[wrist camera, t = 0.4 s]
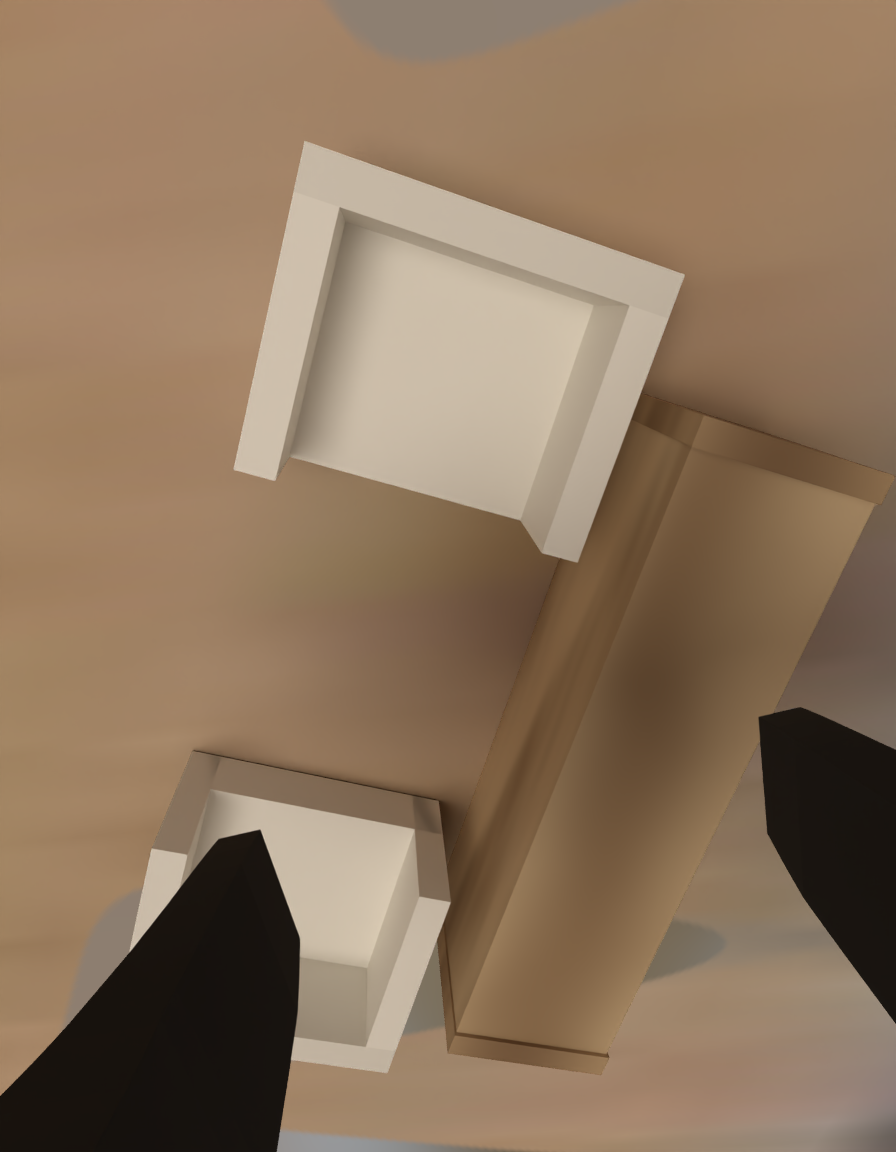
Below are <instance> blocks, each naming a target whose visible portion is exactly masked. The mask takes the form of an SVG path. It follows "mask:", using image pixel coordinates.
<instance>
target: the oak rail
mask: <svg viewBox="0 0 896 1152" xmlns="http://www.w3.org/2000/svg"><path fill="white" fill-rule="evenodd" d="M894 478H895V476H894V475H891V474H888V473H885V472H882V471H879V470H876V469H873V468H870V467H867V466H864V465H861V464H858V463H855V462H852V461H849V460H846V459H843V458H840V457H837V456H834V455H831V454H828V453H825V452H822V451H819V450H816V449H813V448H810V447H807V446H804V445H801V444H798V443H795V442H792V441H789V440H786V439H782V438H779V437H776V436H773V435H770V434H767V433H764V432H761V431H758V430H755V429H752V428H749V427H745V426H742V425H739V424H736V423H733V422H730V421H727V420H723V419H720V418H717V417H714V416H711V415H708V414H704V413H701V412H698V411H695V410H692V409H689V408H686V407H682V406H679V405H676V404H673V403H670V402H667V401H664V400H660V399H657V398H654V397H651V396H648V395H645V394H642V393H641V394H640V397H639V399H638V402H637V405H636V407H635V410H634V413H633V415H632V418H631V421H630V423H629V426H628V429H627V432H626V434H625V437H624V440H623V442H622V445H621V448H620V450H619V453H618V456H617V458H616V461H615V464H614V466H613V469H612V472H611V474H610V477H609V480H608V482H607V485H606V488H605V491H604V493H603V496H602V499H601V501H600V504H599V507H598V509H597V512H596V515H595V517H594V520H593V523H592V525H591V528H590V531H589V533H588V536H587V539H586V541H585V544H584V547H583V549H582V552H581V555H580V558H579V560H578V563H577V562H573V561H569V560H565V559H562V558H560V559H559V562H558V565H557V568H556V570H555V573H554V576H553V579H552V581H551V584H550V587H549V590H548V592H547V595H546V598H545V601H544V603H543V606H542V609H541V611H540V614H539V617H538V620H537V622H536V625H535V628H534V631H533V633H532V636H531V639H530V642H529V644H528V647H527V650H526V653H525V655H524V658H523V661H522V664H521V666H520V669H519V672H518V675H517V677H516V680H515V683H514V686H513V688H512V691H511V694H510V697H509V699H508V702H507V705H506V707H505V710H504V713H503V716H502V718H501V721H500V724H499V727H498V729H497V732H496V735H495V738H494V740H493V743H492V746H491V749H490V751H489V754H488V757H487V760H486V762H485V765H484V768H483V771H482V773H481V776H480V779H479V782H478V784H477V787H476V790H475V793H474V795H473V798H472V801H471V803H470V806H469V809H468V812H467V814H466V817H465V820H464V823H463V825H462V828H461V831H460V834H459V836H458V839H457V842H456V845H455V847H454V850H453V853H452V856H451V858H450V861H449V864H448V867H447V874H448V882H449V890H450V899H451V903H450V906H449V909H448V911H447V914H446V917H445V920H444V922H443V925H442V928H441V930H440V933H439V936H438V938H437V943H438V953H439V964H440V973H441V986H442V997H443V1007H444V1018H445V1029H446V1040H447V1051H448V1053H449V1054H457V1055H464V1056H471V1057H478V1058H485V1059H492V1060H499V1061H506V1062H513V1063H520V1064H527V1065H534V1066H541V1067H548V1068H555V1069H562V1070H569V1071H576V1072H583V1073H590V1074H597V1075H601V1074H602V1072H603V1070H604V1068H605V1066H606V1064H607V1062H608V1060H609V1055H608V1050H609V1048H610V1046H611V1044H612V1042H613V1040H614V1038H615V1036H616V1034H617V1032H618V1030H619V1028H620V1026H621V1023H622V1021H623V1019H624V1017H625V1015H626V1013H627V1011H628V1009H629V1007H630V1005H631V1003H632V1001H633V999H634V997H635V995H636V993H637V991H638V989H639V987H640V985H641V983H642V981H643V978H644V976H645V974H646V972H647V970H648V968H649V966H650V964H651V962H652V960H653V958H654V956H655V954H656V952H657V950H658V948H659V946H660V944H661V942H662V939H663V938H664V935H665V933H666V931H667V929H668V927H669V925H670V923H671V921H672V919H673V917H674V915H675V913H676V911H677V909H678V907H679V905H680V903H681V901H682V899H683V897H684V895H685V893H686V890H687V888H688V886H689V884H690V882H691V880H692V878H693V876H694V874H695V872H696V870H697V868H698V866H699V864H700V862H701V860H702V858H703V856H704V854H705V852H706V850H707V848H708V845H709V843H710V841H711V839H712V837H713V835H714V833H715V831H716V829H717V827H718V825H719V823H720V821H721V819H722V817H723V815H724V813H725V811H726V809H727V807H728V805H729V803H730V800H731V798H732V796H733V794H734V792H735V790H736V788H737V786H738V784H739V782H740V780H741V778H742V776H743V774H744V772H745V770H746V768H747V766H748V764H749V762H750V760H751V758H752V755H753V753H754V751H755V749H756V747H757V745H758V743H759V741H760V732H759V719H758V717H760V716H764V715H769V714H773V713H774V710H775V708H776V706H777V704H778V702H779V700H780V698H781V696H782V694H783V692H784V690H785V688H786V686H787V684H788V682H789V680H790V678H791V676H792V674H793V672H794V670H795V668H796V665H797V663H798V661H799V659H800V657H801V655H802V653H803V651H804V649H805V647H806V645H807V643H808V641H809V639H810V637H811V635H812V633H813V631H814V629H815V627H816V625H817V623H818V620H819V618H820V616H821V614H822V612H823V610H824V608H825V606H826V604H827V602H828V600H829V598H830V596H831V594H832V592H833V590H834V588H835V586H836V584H837V582H838V580H839V577H840V575H841V573H842V571H843V569H844V567H845V565H846V563H847V561H848V559H849V557H850V555H851V553H852V551H853V549H854V547H855V545H856V543H857V541H858V539H859V537H860V535H861V532H862V530H863V528H864V526H865V524H866V522H867V520H868V518H869V516H870V514H871V512H872V510H873V508H874V506H875V504H878V505H882V502H883V500H884V498H885V496H886V494H887V492H888V490H889V488H890V486H891V484H892V482H893V480H894Z"/></svg>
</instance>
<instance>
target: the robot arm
mask: <svg viewBox="0 0 896 1152" xmlns="http://www.w3.org/2000/svg"><path fill="white" fill-rule="evenodd" d="M758 719H759V732H760V745H761V758H762V770H763V783H764V796H765V809H766V822H767V834H768V835H769V837H770V839H771V841H772V843H773V845H774V846H775V848H776V850H777V852H778V854H779V856H780V857H781V859H782V861H783V863H784V865H785V867H786V868H787V870H788V872H789V874H790V875H791V877H792V879H793V880H794V882H795V884H796V886H797V887H798V889H799V891H800V893H801V894H802V896H803V898H804V899H805V901H806V902H807V903H808V905H809V906H810V908H811V909H812V910H813V912H814V913H815V915H816V916H817V917H818V919H819V920H820V921H821V923H822V924H823V926H824V927H825V928H826V930H827V931H828V932H829V934H830V935H831V937H832V938H833V939H834V941H835V942H836V943H837V945H838V946H839V948H840V949H841V950H842V952H843V953H844V954H845V956H846V957H847V958H848V960H849V961H850V962H851V964H852V965H853V967H854V968H855V969H856V971H857V972H858V973H859V975H860V976H861V977H862V979H863V980H864V981H865V983H866V984H867V985H868V987H869V988H870V990H871V991H872V992H873V994H874V995H875V996H876V998H877V999H878V1000H879V1002H880V1003H881V1004H882V1006H883V1007H884V1008H885V1010H886V1011H887V1013H888V1014H889V1015H890V1017H891V1018H892V1019H893V1021H894V1022H895V1023H896V750H895V749H893V748H891V747H888V746H886V745H884V744H882V743H880V742H878V741H875V740H873V739H871V738H869V737H867V736H865V735H862V734H860V733H858V732H856V731H854V730H852V729H849V728H847V727H845V726H843V725H841V724H839V723H836V722H834V721H832V720H830V719H828V718H825V717H823V716H821V715H818V714H816V713H814V712H811V711H809V710H806V709H804V708H801V707H799V708H795V709H791V710H786V711H782V712H777V713H773V714H769V715H764V716H760V717H758ZM299 975H300V937H299V934H298V931H297V929H296V926H295V923H294V920H293V918H292V915H291V912H290V909H289V907H288V904H287V901H286V898H285V896H284V893H283V890H282V887H281V885H280V882H279V879H278V876H277V874H276V871H275V868H274V865H273V863H272V860H271V857H270V854H269V852H268V849H267V846H266V843H265V841H264V838H263V835H262V832H261V830H255V831H251V832H246V833H242V834H238V835H233V836H229V837H224V838H220V839H218V840H217V841H216V842H215V844H214V845H213V846H212V847H211V848H210V850H209V851H208V852H207V853H206V855H205V856H204V857H203V858H202V860H201V861H200V862H199V864H198V865H197V866H196V868H195V869H194V870H193V871H192V873H191V874H190V875H189V877H188V878H187V879H186V881H185V882H184V883H183V885H182V886H181V887H180V888H179V890H178V891H177V892H176V894H175V895H174V896H173V898H172V899H171V900H170V902H169V903H168V904H167V905H166V907H165V908H164V909H163V911H162V912H161V913H160V914H159V916H158V917H157V918H156V919H155V921H154V922H153V923H152V925H151V926H150V927H149V928H148V930H147V931H146V932H145V933H144V935H143V936H142V937H141V939H140V940H139V941H138V942H137V944H136V945H135V946H134V947H133V949H132V950H131V951H130V953H129V954H128V955H127V957H125V959H124V960H123V961H122V962H121V963H120V965H119V966H118V967H117V968H116V969H115V970H114V972H113V973H112V974H111V975H110V976H109V977H108V979H107V980H106V981H105V982H104V983H103V985H102V986H101V987H100V988H99V989H98V990H97V992H96V993H95V994H94V995H93V996H92V997H91V999H90V1000H89V1001H88V1002H87V1003H86V1005H85V1006H84V1007H83V1008H82V1009H81V1010H80V1012H79V1013H78V1014H77V1015H76V1016H75V1017H74V1019H73V1020H72V1021H71V1022H70V1023H69V1024H68V1025H67V1027H66V1028H65V1029H64V1030H63V1031H62V1032H61V1033H60V1034H59V1035H58V1037H57V1038H56V1039H55V1040H54V1041H53V1042H52V1043H51V1044H50V1045H49V1046H48V1047H47V1048H46V1049H45V1051H44V1052H43V1053H42V1054H41V1055H40V1056H39V1057H38V1058H37V1059H36V1060H35V1061H34V1062H33V1063H32V1064H31V1065H30V1066H29V1067H28V1068H27V1069H26V1070H25V1071H24V1073H23V1074H22V1075H21V1076H20V1077H19V1078H18V1079H17V1080H16V1081H15V1082H14V1083H13V1084H12V1085H11V1086H10V1087H9V1088H8V1089H7V1090H6V1091H5V1092H4V1093H3V1094H2V1095H1V1096H0V1152H277V1146H278V1140H279V1133H280V1127H281V1120H282V1114H283V1108H284V1101H285V1095H286V1089H287V1082H288V1076H289V1069H290V1063H291V1056H292V1049H293V1043H294V1036H295V1029H296V1022H297V1015H298V999H299Z"/></svg>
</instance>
